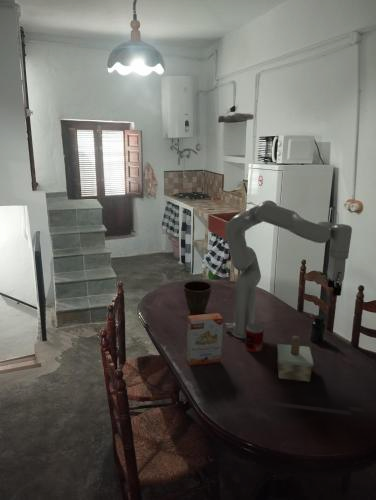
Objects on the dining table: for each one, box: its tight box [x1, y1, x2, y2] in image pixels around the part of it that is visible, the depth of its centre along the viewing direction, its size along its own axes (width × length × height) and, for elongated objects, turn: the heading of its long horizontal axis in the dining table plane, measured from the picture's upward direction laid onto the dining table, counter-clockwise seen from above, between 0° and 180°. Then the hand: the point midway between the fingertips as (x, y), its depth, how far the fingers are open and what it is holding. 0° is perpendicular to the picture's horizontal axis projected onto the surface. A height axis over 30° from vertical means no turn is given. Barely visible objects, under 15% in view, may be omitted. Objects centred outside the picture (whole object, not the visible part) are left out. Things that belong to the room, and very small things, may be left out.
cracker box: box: [186, 312, 224, 367], centre depth 163 cm, size 14×6×21 cm, turn 104°
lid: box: [276, 335, 315, 368], centre depth 155 cm, size 13×13×8 cm
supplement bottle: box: [309, 314, 327, 344], centre depth 183 cm, size 7×7×12 cm
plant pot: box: [183, 280, 212, 315], centre depth 210 cm, size 15×15×16 cm
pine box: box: [276, 357, 313, 382], centre depth 157 cm, size 12×12×8 cm
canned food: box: [244, 323, 264, 353], centre depth 174 cm, size 8×8×11 cm
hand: (333, 291), depth 168 cm, fingers open, 9 cm apart
